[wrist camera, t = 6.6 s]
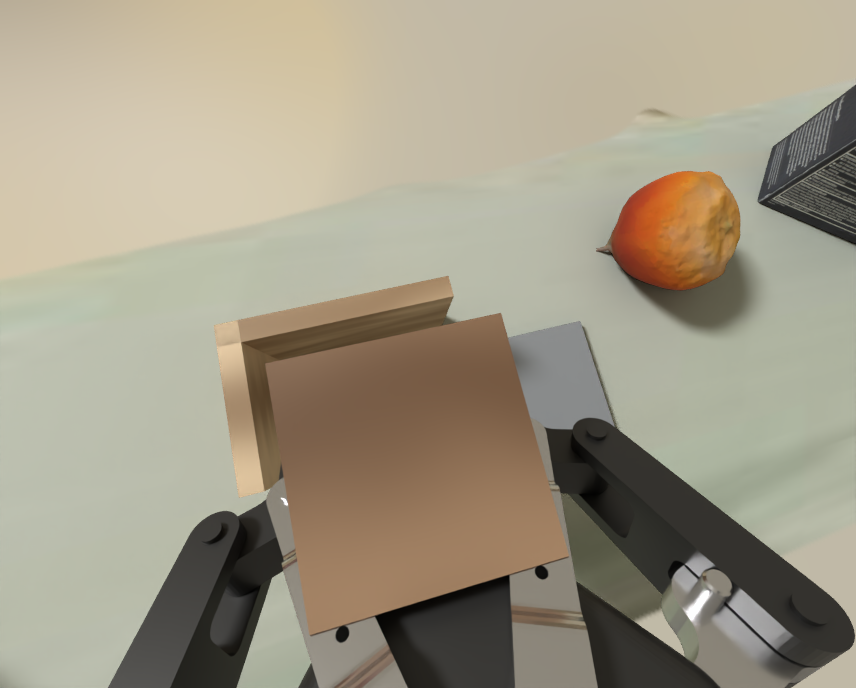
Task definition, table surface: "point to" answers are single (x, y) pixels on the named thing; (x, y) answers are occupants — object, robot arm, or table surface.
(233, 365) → the shelf end
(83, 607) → the table surface
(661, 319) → the table surface
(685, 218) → the fruit
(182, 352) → the table surface
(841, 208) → the small box
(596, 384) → the mat
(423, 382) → the plate
